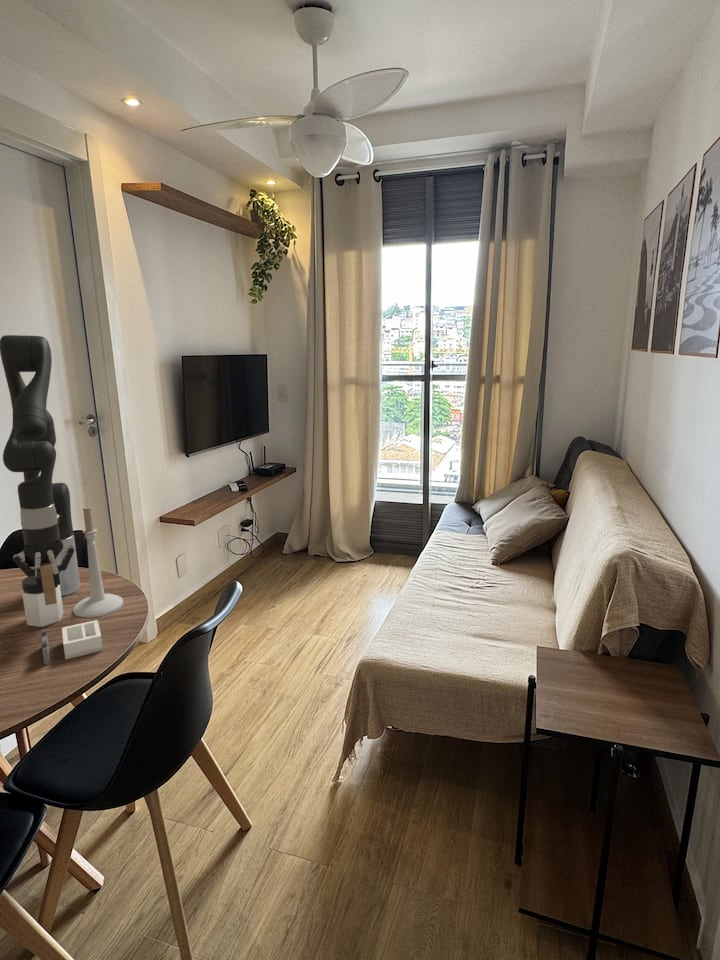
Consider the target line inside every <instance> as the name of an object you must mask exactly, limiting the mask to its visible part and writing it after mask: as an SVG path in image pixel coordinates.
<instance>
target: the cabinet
mask: <svg viewBox="0 0 720 960" xmlns="http://www.w3.org/2000/svg"><path fill="white" fill-rule="evenodd" d="M99 625H100V624H99V620H98V619H95V620H92V621H86V622H82V623H77V624H73V625H68V626H64V627H61V630H62V631H61V632H62V643H63V651H64V652H63V653H64V658H65V660H66V661H67V660H70V659H74V658H78V657H82V656H87V655H91V654H95V653H98V652H102V651H104V649H103V641H102V639H103V638H102V634H101V628H100V626H99ZM40 632H41V650H42V657H43V664H44V666H45V665H47V666H48V665H50V643H49V638H48V637H49V636H48V631H47V629H46V628H42V629H41V631H40Z"/></svg>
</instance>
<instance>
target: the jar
mask: <svg viewBox="0 0 720 960" xmlns="http://www.w3.org/2000/svg"><path fill="white" fill-rule="evenodd" d="M21 583H22V585H21V587H22V591H23V592H22V593H21V595H22V601H23V609H24V613H25V614H24V615H25V620H26V625H27V626H30V627H37V628H38V627H39V628H43V627H46V626H49V625H51V624H56V623H58V622H60V621H61V619H62V618H63V616H64V606H63V600H62V596H61V590H60V585H57V586H58V587H57V588H56V600H57V603H56V604H51V605H45V598H44V592H43V590H41V588H40V589H38V587H37V581H36V577H35V576H30V577H28V576H26V577H25V578H24V579H22V581H21Z"/></svg>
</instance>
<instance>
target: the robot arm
mask: <svg viewBox="0 0 720 960" xmlns="http://www.w3.org/2000/svg"><path fill="white" fill-rule="evenodd" d="M0 358H1V363H2V367H3V371H4V375H5V379H6V383H7V388H8V390H9V396H10V401H11V402H10V403H11V408H12V427H11V430H10V435H9V437H8V439H7V441H6V443H5V446H4V449H3V453H2V461H3V465H4V466H5V468H6V469H7V470H9V471H10V472H12V473H23V481H22V482H20V483H19V484H18V485H17V495H18V502H19V509H20V512H19V515H20V516H19V517H20V526H21V530H22V535H23V537H22V538H23V542H24V547H23V550H22V551H21V552H19V553H15V554H14V555H13V556H12V561H13V562H14V563H15V564H16V566H17V567H18V568H19V569H20V570H21V571H22V572H23V573H24V574H25V575H26V577H30V576H35V577H36V581H37V587H38V589H40V588H41V590H43V585H42V578H39V579H37V576H36V574H38V573H41V571H40V564H41V563H44V562H50V563H51V564H52V570H53V578H54V585H55V588H57V587H58V586H57V585H60V590H61V597H64V596H68V595H71V594H74V593H76V592H78V591H79V590H80V589H81V581H80V573H79V566H78V565H79V564H78V557H77V550H76V542H75V541H76V540H75V533H74V528H73V521H72V511H71V510H72V509H71V508H72V507H71V493H70V490H69V487H68V485H67V484H66V483H65V482H53V475H54V470H55V464H56V459H57V458H56V457H57V451H56V448H55V447H56V446H55V445H56V442H57V436H56V429H55V422H54V419H53V416H52V415H51V413H50V412H49V411H48V410H47V403H48V402H47V400H48V395H49V394H48V393H49V388H50V383H51V382H50V381H51V373H52V366H53V365H52V363H53V362H52V349H51V346H50V342H49V340H48V339H47V338H46V337H45V336H41V335H24V334H23V335H16V334H12V335H11V334H8V335H7V334H6V335H2V336H1V338H0ZM21 373H34V375H33V377H32V378H31V380H30V381H29V382H28V384H27V385H26V384H25V381H24V379H23V377H22V375H21ZM25 556H26V557H27V558H29V559H30V560H31V561H32V562H33V563H34V569H33V568H31V566H29V564H28V563H27V562H26V561H25V560H26V557H25Z"/></svg>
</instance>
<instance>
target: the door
mask: <svg viewBox="0 0 720 960" xmlns="http://www.w3.org/2000/svg"><path fill="white" fill-rule="evenodd" d="M40 571H41V573H38V574H36V576H37V579H39V578H42V585H43V592H44V598H45V605H51V604H56V603H57V600H56V588H55V585H54V578H53V570H52V564H51V563H50V562H44V563H41V564H40Z"/></svg>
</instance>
